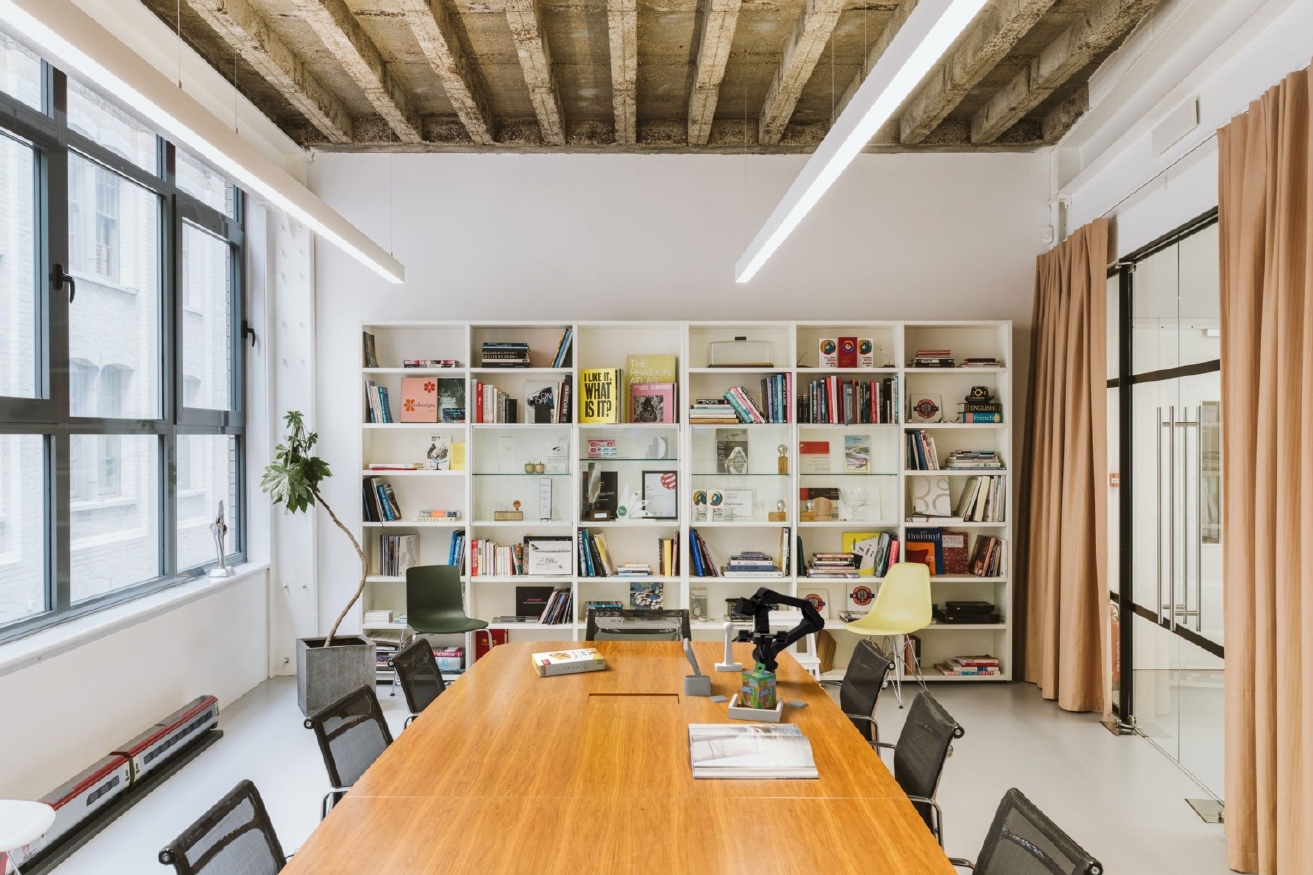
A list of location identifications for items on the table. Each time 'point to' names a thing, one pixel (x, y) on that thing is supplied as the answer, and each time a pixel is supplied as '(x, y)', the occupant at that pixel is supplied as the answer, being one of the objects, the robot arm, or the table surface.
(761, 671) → the chalk box
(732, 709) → the corral
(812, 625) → the robot arm
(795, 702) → the tile
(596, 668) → the cereal box
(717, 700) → the tile
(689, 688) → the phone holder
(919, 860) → the table surface
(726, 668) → the joystick
